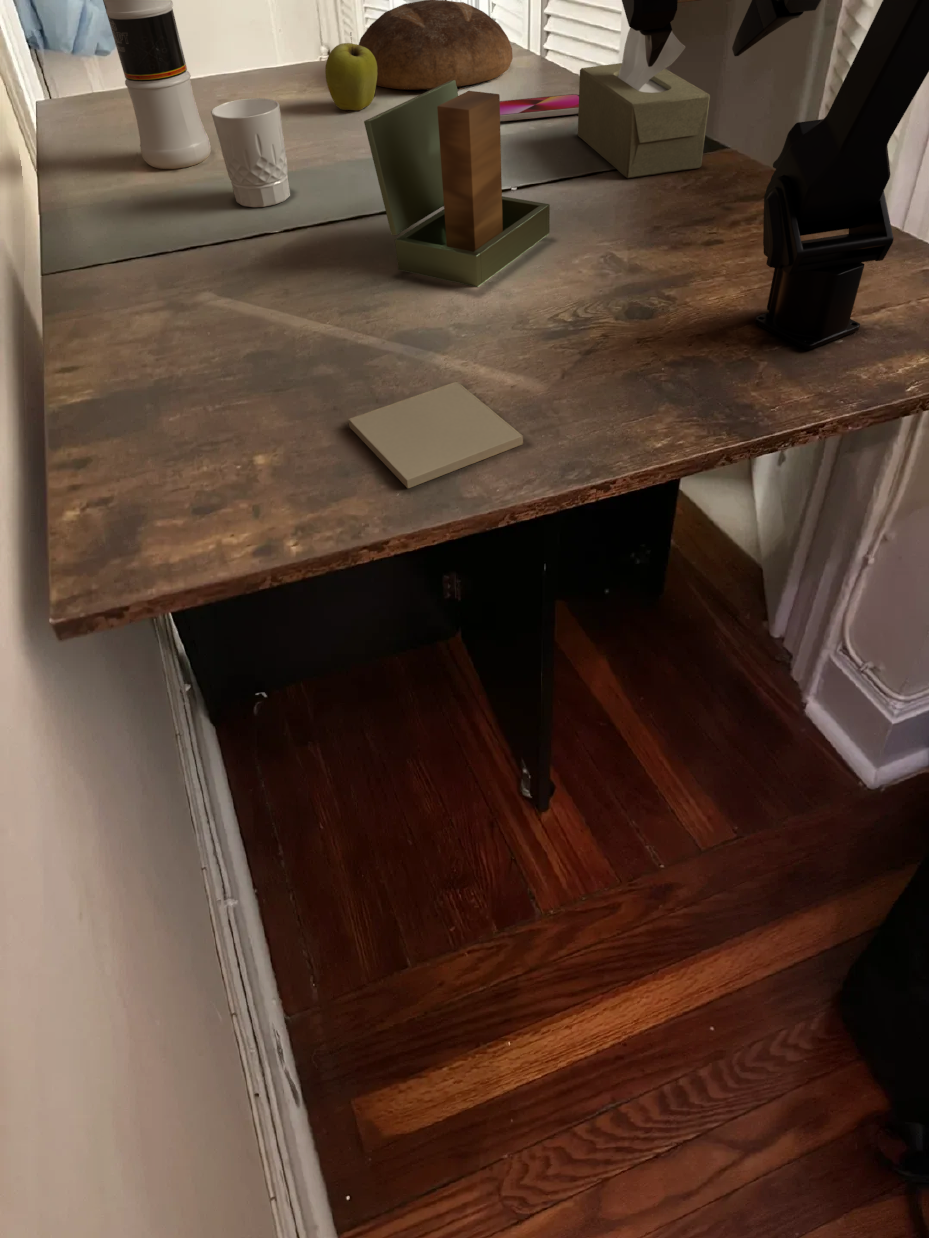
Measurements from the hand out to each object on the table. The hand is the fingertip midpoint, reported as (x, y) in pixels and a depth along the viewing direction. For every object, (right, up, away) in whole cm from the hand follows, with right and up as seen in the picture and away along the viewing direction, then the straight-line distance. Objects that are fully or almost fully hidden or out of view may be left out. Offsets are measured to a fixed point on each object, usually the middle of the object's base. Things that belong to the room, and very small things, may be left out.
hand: (692, 57), depth 89 cm
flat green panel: (-27, -10, -1) cm, 29 cm away
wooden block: (-22, -18, +3) cm, 29 cm away
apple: (-40, +22, +46) cm, 65 cm away
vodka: (-62, +7, +33) cm, 71 cm away
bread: (-28, +35, +58) cm, 73 cm away
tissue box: (-1, +4, +25) cm, 25 cm away
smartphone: (-13, +17, +39) cm, 45 cm away
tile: (-25, -42, -20) cm, 53 cm away
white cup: (-48, -5, +20) cm, 52 cm away
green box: (-22, -19, +4) cm, 29 cm away
